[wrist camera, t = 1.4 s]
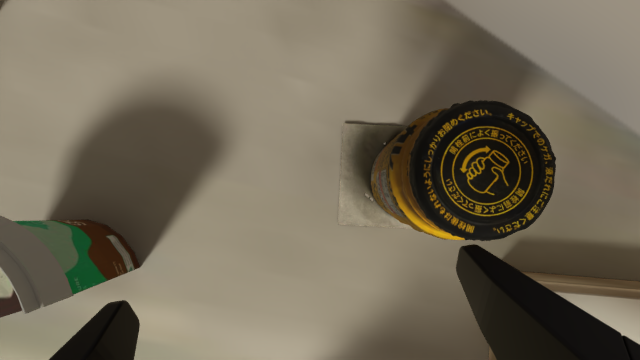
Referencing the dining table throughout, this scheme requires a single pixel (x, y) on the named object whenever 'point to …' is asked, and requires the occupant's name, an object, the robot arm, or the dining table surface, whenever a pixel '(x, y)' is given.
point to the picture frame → (598, 300)
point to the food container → (56, 261)
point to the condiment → (448, 173)
